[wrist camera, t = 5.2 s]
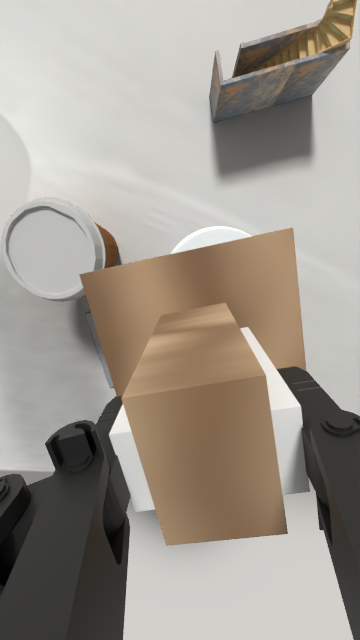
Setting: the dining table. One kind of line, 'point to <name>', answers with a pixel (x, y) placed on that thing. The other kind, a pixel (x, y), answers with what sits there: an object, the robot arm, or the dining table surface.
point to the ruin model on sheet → (283, 64)
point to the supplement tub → (209, 238)
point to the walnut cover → (203, 378)
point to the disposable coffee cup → (55, 248)
